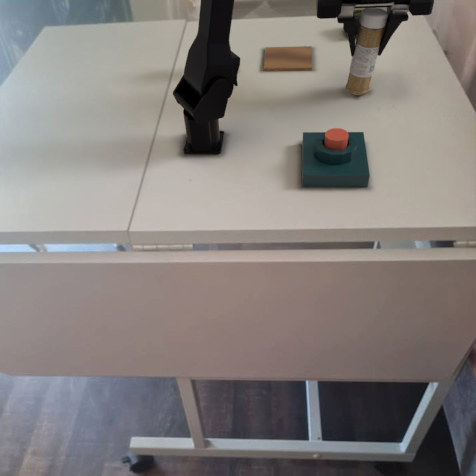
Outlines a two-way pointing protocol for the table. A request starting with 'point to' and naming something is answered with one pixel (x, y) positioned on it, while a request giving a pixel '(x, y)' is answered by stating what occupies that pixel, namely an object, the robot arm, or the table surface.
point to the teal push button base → (334, 162)
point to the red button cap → (336, 139)
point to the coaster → (287, 58)
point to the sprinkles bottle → (366, 50)
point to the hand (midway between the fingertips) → (365, 55)
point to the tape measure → (357, 18)
